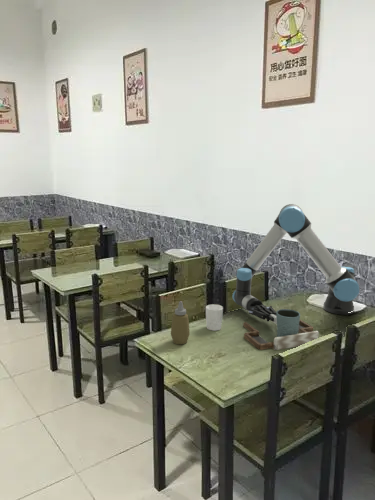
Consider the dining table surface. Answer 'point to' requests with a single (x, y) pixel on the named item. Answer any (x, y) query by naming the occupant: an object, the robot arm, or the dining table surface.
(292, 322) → the blue-grey cup
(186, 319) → the squeeze bottle
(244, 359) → the dining table surface
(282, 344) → the brown walled tray frame
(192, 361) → the dining table surface
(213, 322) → the white cup
